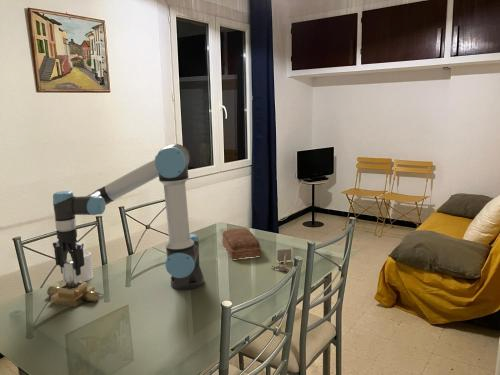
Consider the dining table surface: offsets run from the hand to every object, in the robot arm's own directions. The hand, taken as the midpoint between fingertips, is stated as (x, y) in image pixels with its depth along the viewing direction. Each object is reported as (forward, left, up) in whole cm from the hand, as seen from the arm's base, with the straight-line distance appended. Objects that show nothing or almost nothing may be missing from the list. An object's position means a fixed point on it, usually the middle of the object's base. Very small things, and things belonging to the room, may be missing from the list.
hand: (72, 281), depth 162 cm
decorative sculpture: (-80, -55, -8) cm, 97 cm away
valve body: (0, 0, -8) cm, 8 cm away
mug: (+10, -17, -8) cm, 21 cm away
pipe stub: (0, 0, -4) cm, 4 cm away
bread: (-53, -72, -8) cm, 90 cm away
